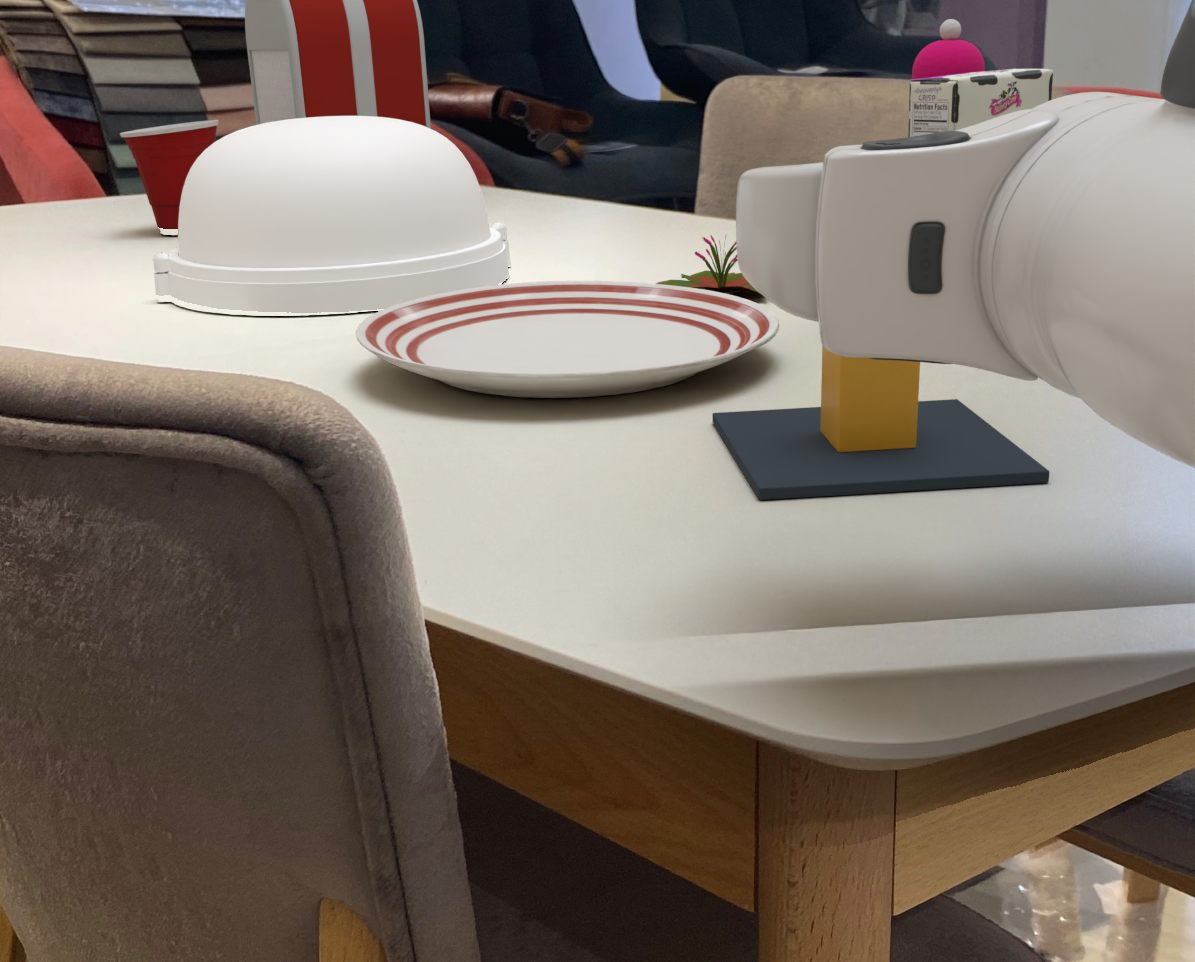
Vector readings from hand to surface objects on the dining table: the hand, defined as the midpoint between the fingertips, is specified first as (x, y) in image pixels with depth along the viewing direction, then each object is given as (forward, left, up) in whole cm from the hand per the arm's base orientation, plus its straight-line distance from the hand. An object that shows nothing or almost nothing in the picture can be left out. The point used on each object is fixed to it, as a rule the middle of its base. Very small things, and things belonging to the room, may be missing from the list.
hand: (958, 190), depth 58 cm
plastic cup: (+53, -112, -15) cm, 125 cm away
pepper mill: (-21, -68, -15) cm, 73 cm away
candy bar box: (-19, -53, -15) cm, 58 cm away
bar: (0, -12, -14) cm, 18 cm away
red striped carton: (+36, -135, -15) cm, 140 cm away
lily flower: (0, -58, -15) cm, 60 cm away
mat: (0, -12, -14) cm, 19 cm away
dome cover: (+32, -72, -15) cm, 80 cm away
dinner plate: (+14, -35, -15) cm, 40 cm away
